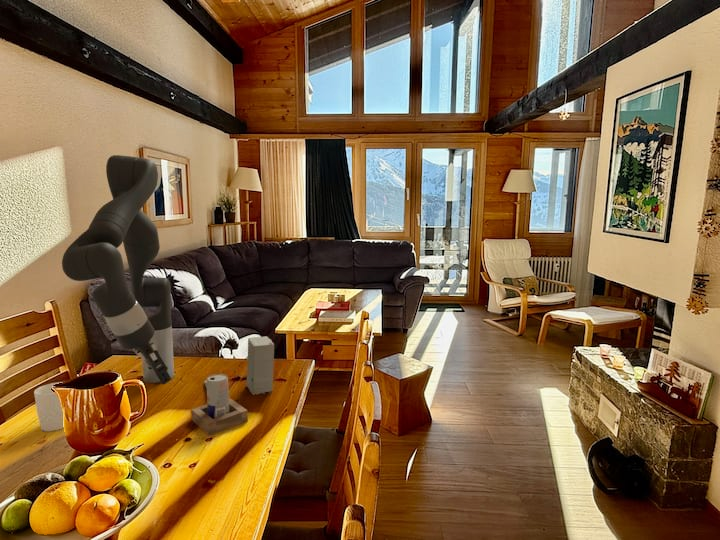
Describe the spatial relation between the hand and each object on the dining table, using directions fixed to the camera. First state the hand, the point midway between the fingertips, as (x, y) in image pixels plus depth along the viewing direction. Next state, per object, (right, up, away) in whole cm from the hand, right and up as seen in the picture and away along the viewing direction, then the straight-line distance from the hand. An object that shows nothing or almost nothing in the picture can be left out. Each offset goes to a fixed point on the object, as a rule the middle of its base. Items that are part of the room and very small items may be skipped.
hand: (159, 374), depth 104 cm
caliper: (+4, -13, +24) cm, 27 cm away
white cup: (-29, -15, +5) cm, 33 cm away
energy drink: (+12, -15, +8) cm, 20 cm away
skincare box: (+18, -12, +28) cm, 36 cm away
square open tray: (+12, -14, +8) cm, 20 cm away
